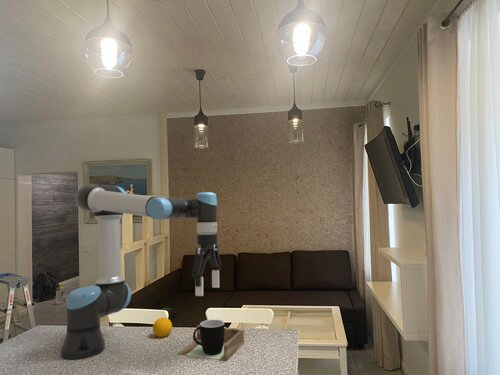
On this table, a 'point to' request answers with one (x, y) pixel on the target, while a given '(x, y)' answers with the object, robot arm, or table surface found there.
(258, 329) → the table surface
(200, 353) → the pad
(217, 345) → the mug
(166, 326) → the yellow orange fruit
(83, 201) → the robot arm
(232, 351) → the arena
